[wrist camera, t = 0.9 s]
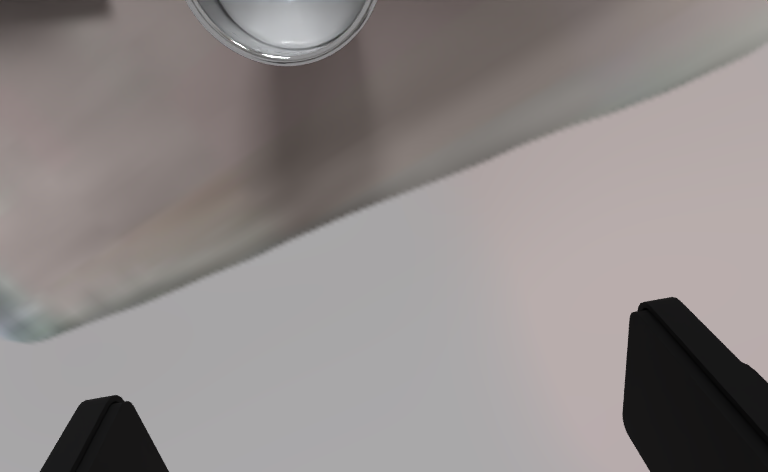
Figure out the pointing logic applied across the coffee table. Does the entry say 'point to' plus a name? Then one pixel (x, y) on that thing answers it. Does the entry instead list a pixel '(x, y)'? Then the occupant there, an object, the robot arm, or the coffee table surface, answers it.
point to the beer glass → (283, 27)
